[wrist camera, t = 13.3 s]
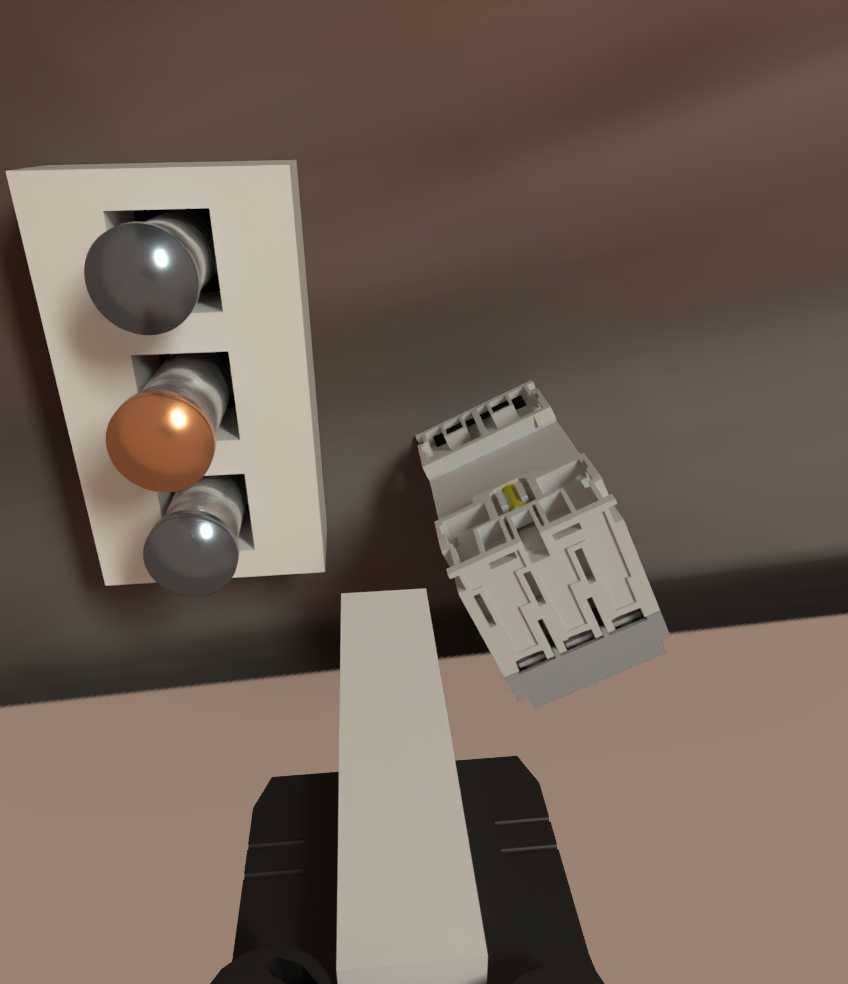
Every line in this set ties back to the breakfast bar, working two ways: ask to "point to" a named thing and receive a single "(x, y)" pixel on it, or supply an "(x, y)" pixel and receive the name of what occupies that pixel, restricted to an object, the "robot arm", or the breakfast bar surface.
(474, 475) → the circuit breaker
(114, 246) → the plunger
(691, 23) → the breakfast bar surface
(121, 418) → the plunger mid
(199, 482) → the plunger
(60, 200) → the panel
